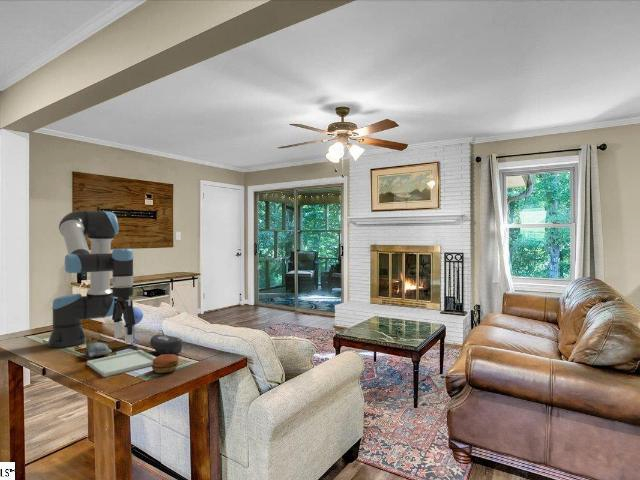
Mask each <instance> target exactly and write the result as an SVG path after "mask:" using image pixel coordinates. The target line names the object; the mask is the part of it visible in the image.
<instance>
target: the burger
mask: <svg viewBox="0 0 640 480" xmlns="http://www.w3.org/2000/svg"><path fill="white" fill-rule="evenodd" d="M155 357H156V358H155V359H154V360H153V365H152V366H151V369H152V370H153V371H154V372H155V373H158V374H164V373H171V372H173V371H174V370H176V368H177V367H178V365H179V357H178V356H177V355H173V354H160V355H158V356H155Z"/></svg>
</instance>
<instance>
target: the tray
mask: <svg viewBox="0 0 640 480" xmlns="http://www.w3.org/2000/svg"><path fill="white" fill-rule="evenodd" d="M156 357H157V356H155V355H153V354H151V353H148V352H147V351H144V350H142V349H138V350H134V351H129V352H124V353H119V354H114V355H109V356H104V357H100V358H96V359H91V360H90V359H89V360H87V361H86V365H87V367H90V368H91V369H92V370H94V371H95V372H96V373H98V375H100V376H102V377H103V378H107V377H111V376H112V377H113V376H117V375H119V374H123V373H129V372H131V371H132V372H133V371H137V370H140V369H144V368H149V367H152V365H153V360H154V359H155V358H156Z"/></svg>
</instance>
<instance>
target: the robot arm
mask: <svg viewBox="0 0 640 480" xmlns="http://www.w3.org/2000/svg"><path fill="white" fill-rule="evenodd" d="M117 218H118V217H117V216H116V214H115V213H114V212H111V211H106V210H103V211H101V210H82V209H81V210H75V211H72V212H69V213H67V214H66V215H65V216H63V217H62V218H61V220H60V221H59V224H58V230H59V233H60V235H61V236H62V237H63V238H64V243H65V246H66V250H67V253H68V254H66V255H65V256H64V270H65V272H66V273H67V274H68V273H69V274H81V273H82V274H83V273H90V278H89V279H90V281H89V284H90V286H89V290H87V291H86V295H83V296H82V293H72V294H67V295H61V296H58V297H56V298H54V299H53V301H52V307H51V309H52V330H51V334H50V335H49V337H48V341H47V345H48V348H57V349H58V348H69V347H74V346H77V345H78V346H79V345H82V344H84V343H85V342H87V335H86V333H85V330H84V329H83V327H82V326H83V325H82V324H83V323H82V321H85V320H93V319H104V318H109V317H111V316H112V317H111V320H112V321H113V325H114V326H113V330H114V331H113V333H114V334H113V335H114V337H113V339H119V338H122V337H123V327H124V344H131V343H134V340H133V325H134V326H135V325H136V324H135V318H134V311H133V307H134V305H133V304H134V302H133V299H131V300H130V297H132V296H134V287H133V286H134V252H133V249H132V248H113V249H112V251H111V248H112V245H111V244H112V241H113V240H115V236H116V235H118V234H119V222H118V219H117ZM86 235H87V239H88V240H89V241H90V248H89V246H88V241H87V240H86V237H85V236H86ZM111 272H112V278H111ZM111 282H112V286H113V288H111ZM123 316H124V319H123ZM124 320H125V321H124ZM123 321H124V324H125V325H124V326H123Z"/></svg>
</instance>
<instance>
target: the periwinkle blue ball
mask: <svg viewBox="0 0 640 480" xmlns="http://www.w3.org/2000/svg"><path fill="white" fill-rule="evenodd" d="M133 311H134V318H135V325H137V324H139V323H141V321H142V320H143V317H144V313H143V311H142V310H141V309H140V308H139V307H136V306H135V307H134V306H133ZM122 320H123V321H124V322H125V320H124V316H123V315H122ZM135 325H133V342H132V343H130V345H132V346H134V345H136V344H138V339H137V338H136V335H135V333H136V332H135V331H136V330H135ZM134 340H135V342H134Z"/></svg>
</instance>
